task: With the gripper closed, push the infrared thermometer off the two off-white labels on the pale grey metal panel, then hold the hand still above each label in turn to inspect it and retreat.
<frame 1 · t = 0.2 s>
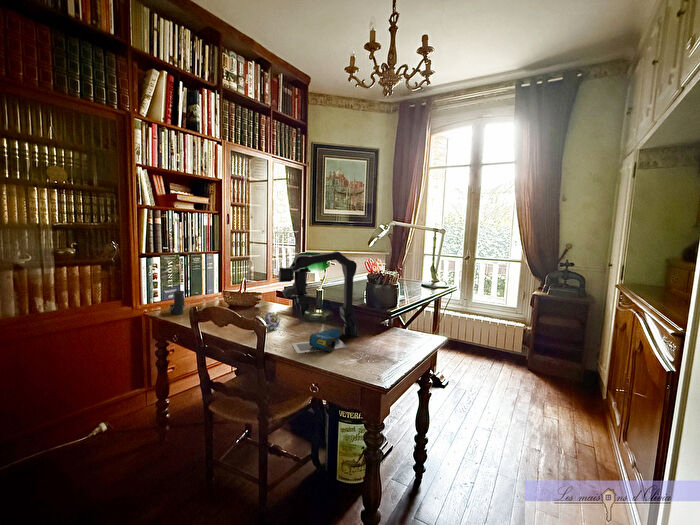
hand: (300, 312, 155), 14 cm above the table, tool pointing down, fingers open, 9 cm apart
infrared thermometer: (329, 344, 152), on the table, touching label panel
scope: (178, 314, 193), on the table
passion flower: (270, 329, 172), on the table
label panel: (319, 345, 150), on the table
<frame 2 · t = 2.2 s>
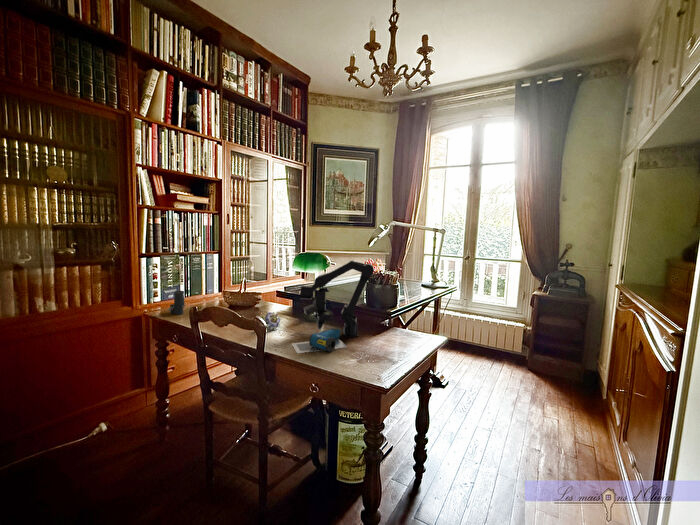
hand: (319, 328, 167), 3 cm above the table, tool pointing down, fingers closed
nothing on the table moved.
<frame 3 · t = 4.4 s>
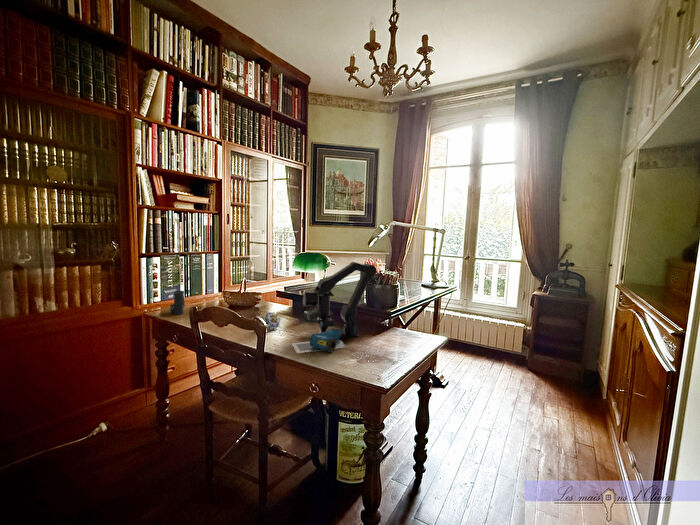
hand: (322, 334, 161), 2 cm above the table, tool pointing down, fingers closed
infrared thermometer: (329, 344, 152), on the table, touching gripper
everything else where it was.
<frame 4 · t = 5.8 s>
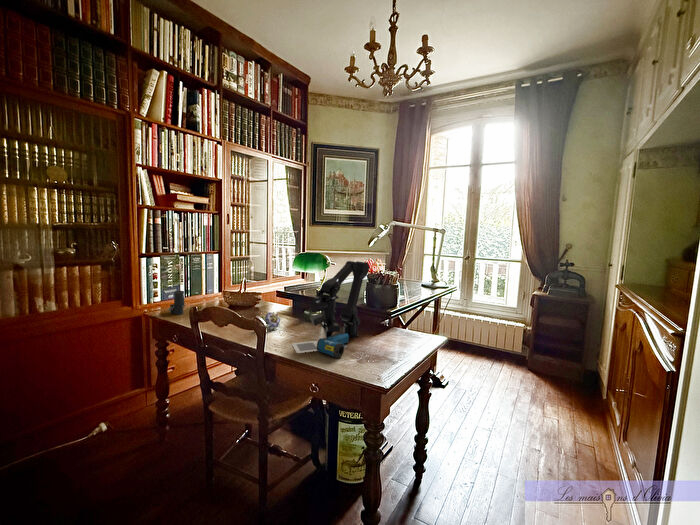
hand: (327, 340, 153), 2 cm above the table, tool pointing down, fingers closed
infrared thermometer: (337, 349, 146), on the table, touching gripper, label panel
everything else where it was.
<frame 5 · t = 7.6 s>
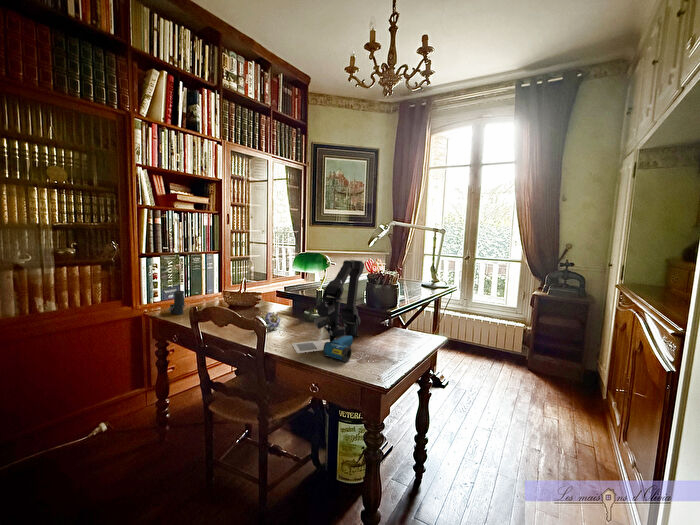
hand: (331, 343, 149), 2 cm above the table, tool pointing down, fingers closed
infrared thermometer: (342, 352, 143), on the table, touching gripper, label panel
everything else where it was.
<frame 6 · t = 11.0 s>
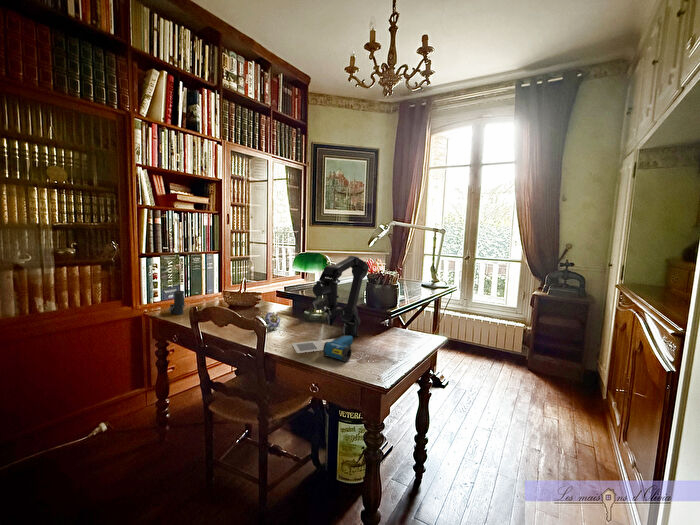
hand: (330, 325, 150), 10 cm above the table, tool pointing down, fingers closed
infrared thermometer: (342, 352, 143), on the table, touching label panel
everything else where it was.
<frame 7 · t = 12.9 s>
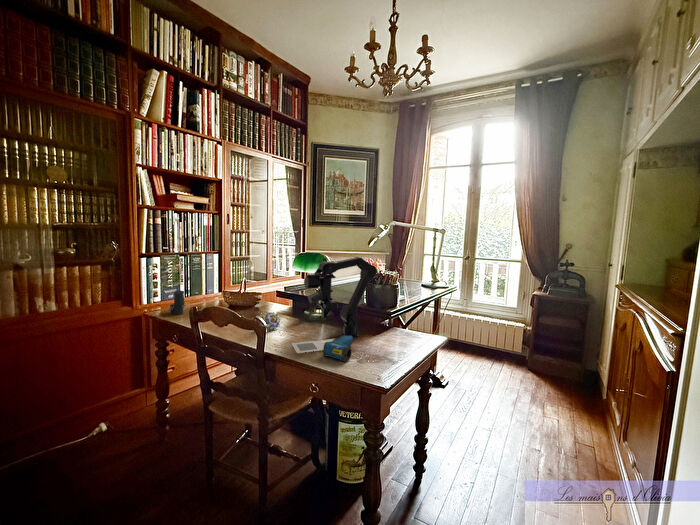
hand: (324, 318, 158), 11 cm above the table, tool pointing down, fingers closed
nothing on the table moved.
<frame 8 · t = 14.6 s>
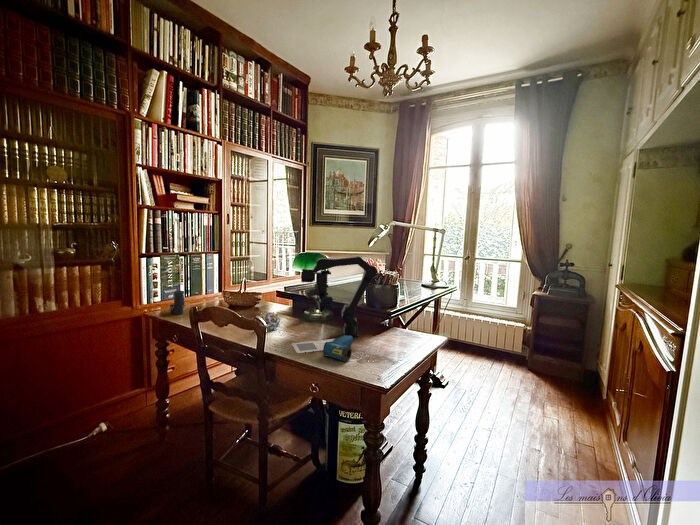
hand: (320, 312, 164), 12 cm above the table, tool pointing down, fingers closed
nothing on the table moved.
at the end: infrared thermometer inside the target area (11.8 cm from its centre), on the table; infrared thermometer moved 11.6 cm from its start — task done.
